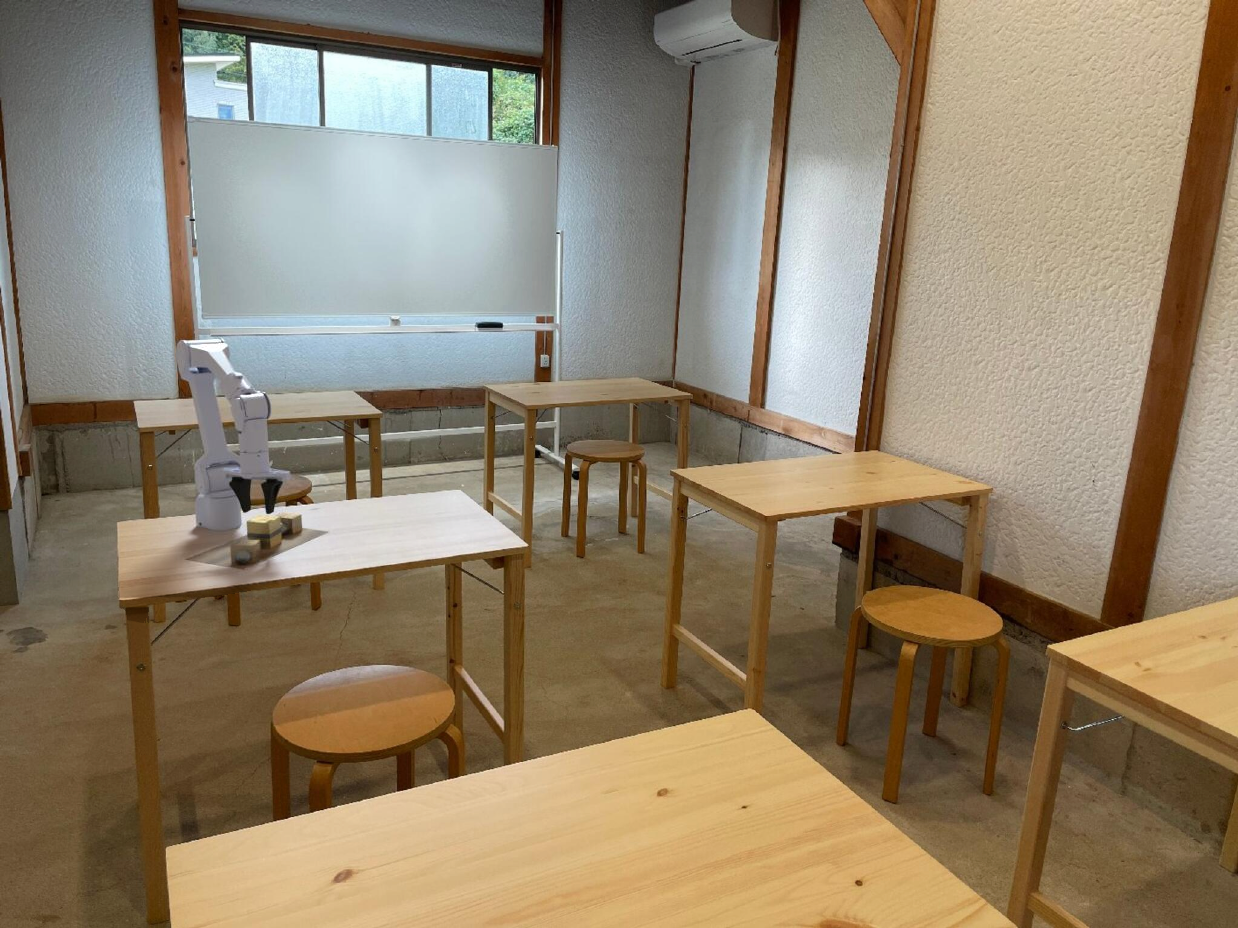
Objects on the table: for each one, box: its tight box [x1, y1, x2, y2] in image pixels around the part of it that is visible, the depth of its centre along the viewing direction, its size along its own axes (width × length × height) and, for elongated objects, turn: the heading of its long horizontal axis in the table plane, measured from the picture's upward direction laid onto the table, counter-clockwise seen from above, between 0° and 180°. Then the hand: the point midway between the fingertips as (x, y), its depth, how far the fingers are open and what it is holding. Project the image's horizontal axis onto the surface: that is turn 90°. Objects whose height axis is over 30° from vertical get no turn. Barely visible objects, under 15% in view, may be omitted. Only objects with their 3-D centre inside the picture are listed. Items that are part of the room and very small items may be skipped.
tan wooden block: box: [246, 514, 282, 550], centre depth 191 cm, size 5×5×6 cm
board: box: [184, 527, 329, 570], centre depth 192 cm, size 15×27×1 cm, turn 161°
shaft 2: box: [275, 511, 303, 535], centre depth 199 cm, size 9×5×4 cm, turn 166°
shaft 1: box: [230, 538, 262, 565], centre depth 183 cm, size 9×5×4 cm, turn 6°
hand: (258, 512), depth 190 cm, fingers open, 5 cm apart
